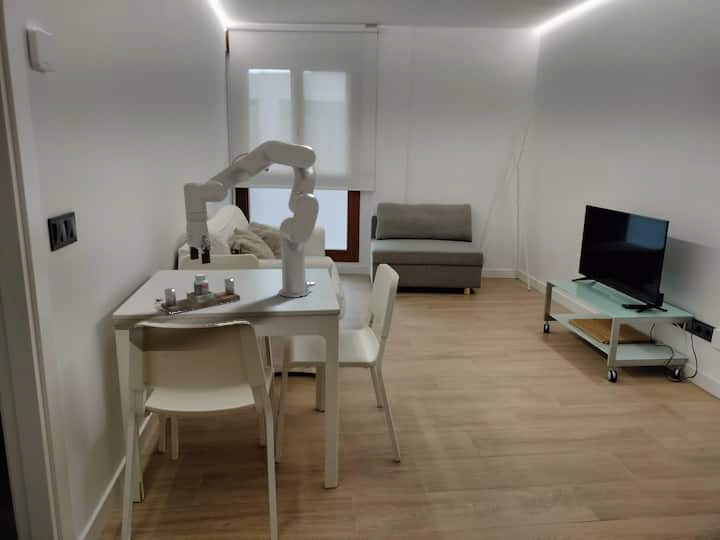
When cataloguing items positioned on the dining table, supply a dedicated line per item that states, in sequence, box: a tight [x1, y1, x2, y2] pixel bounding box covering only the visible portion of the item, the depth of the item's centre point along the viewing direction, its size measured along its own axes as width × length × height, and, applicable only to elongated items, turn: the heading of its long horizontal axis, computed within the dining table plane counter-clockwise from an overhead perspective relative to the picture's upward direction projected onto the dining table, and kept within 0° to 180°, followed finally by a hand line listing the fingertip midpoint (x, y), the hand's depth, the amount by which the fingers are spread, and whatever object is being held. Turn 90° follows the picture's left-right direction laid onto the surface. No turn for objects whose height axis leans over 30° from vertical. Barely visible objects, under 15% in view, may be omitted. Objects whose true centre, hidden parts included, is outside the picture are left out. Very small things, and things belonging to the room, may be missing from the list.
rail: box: [160, 290, 241, 313], centre depth 205 cm, size 28×9×4 cm, turn 131°
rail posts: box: [164, 277, 235, 307], centre depth 204 cm, size 28×4×6 cm, turn 131°
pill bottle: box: [193, 273, 210, 296], centre depth 204 cm, size 5×5×10 cm
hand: (200, 261), depth 202 cm, fingers open, 9 cm apart
